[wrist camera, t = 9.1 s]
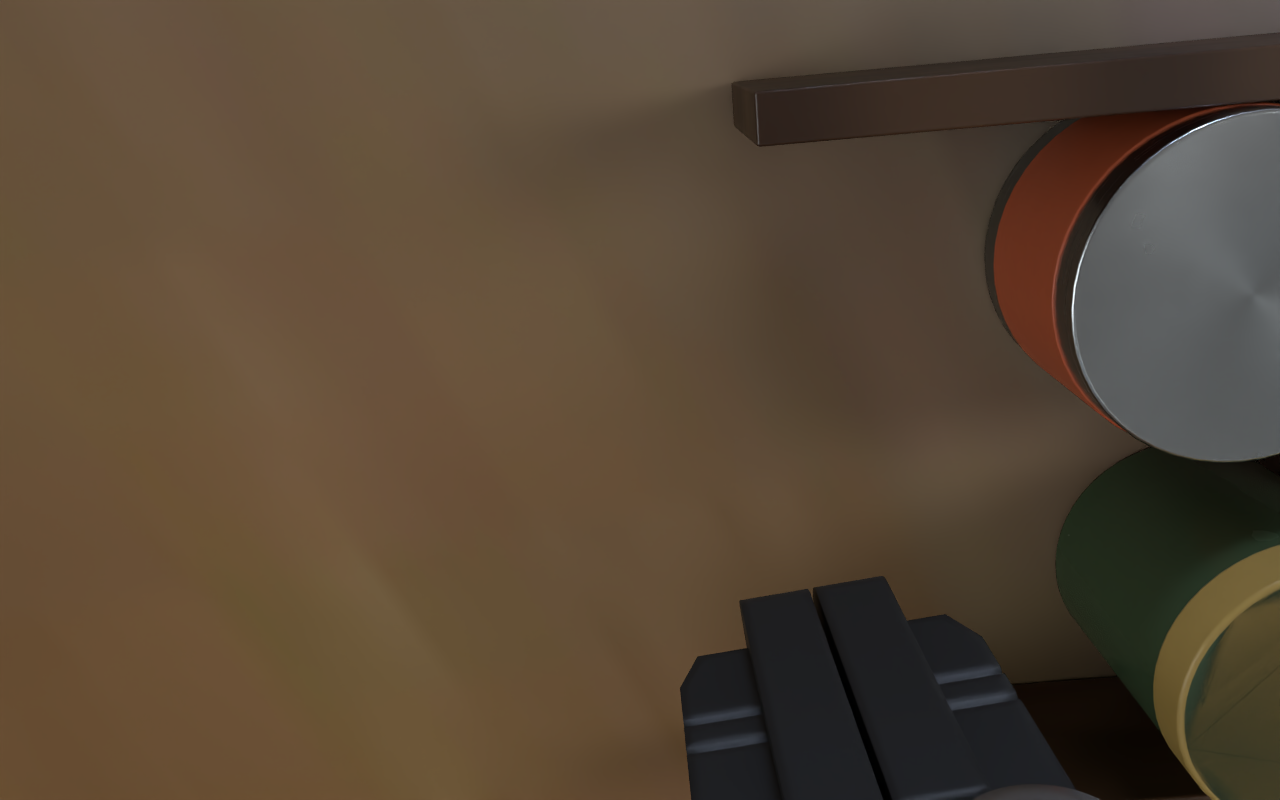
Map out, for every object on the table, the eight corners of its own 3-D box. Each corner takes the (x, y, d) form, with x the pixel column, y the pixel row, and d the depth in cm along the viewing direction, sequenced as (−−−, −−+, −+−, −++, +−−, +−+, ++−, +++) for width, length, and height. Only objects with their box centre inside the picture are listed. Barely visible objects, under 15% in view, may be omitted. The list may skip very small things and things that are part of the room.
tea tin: (1050, 666, 30) (1169, 844, 23) (1055, 449, 28) (1186, 576, 21) (1282, 647, 30) (1470, 821, 23) (1303, 428, 28) (1513, 549, 21)
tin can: (981, 396, 28) (1064, 481, 22) (981, 106, 26) (1072, 123, 20) (1266, 371, 28) (1418, 451, 22) (1289, 77, 26) (1462, 87, 20)
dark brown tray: (770, 735, 31) (796, 863, 26) (731, 82, 25) (753, 91, 21) (1333, 691, 30) (1464, 812, 25) (1407, 21, 25) (1588, 15, 20)
